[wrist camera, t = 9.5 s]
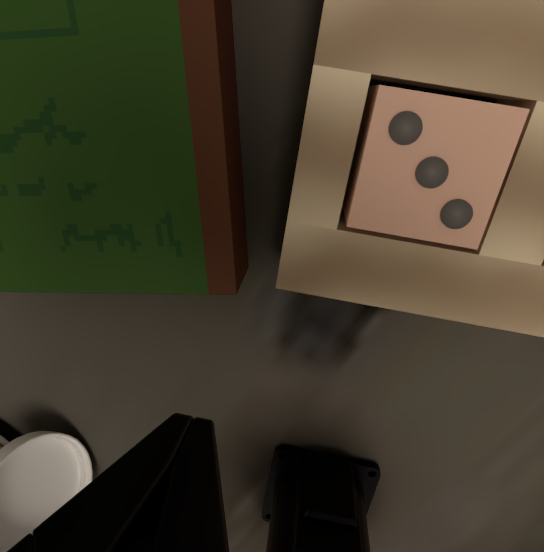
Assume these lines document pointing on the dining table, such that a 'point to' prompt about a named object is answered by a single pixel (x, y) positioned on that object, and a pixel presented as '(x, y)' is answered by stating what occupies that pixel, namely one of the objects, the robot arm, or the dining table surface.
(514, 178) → the board
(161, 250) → the hardcover book
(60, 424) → the dining table surface
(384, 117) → the tile three
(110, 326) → the dining table surface
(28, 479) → the spread jar
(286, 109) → the dining table surface
